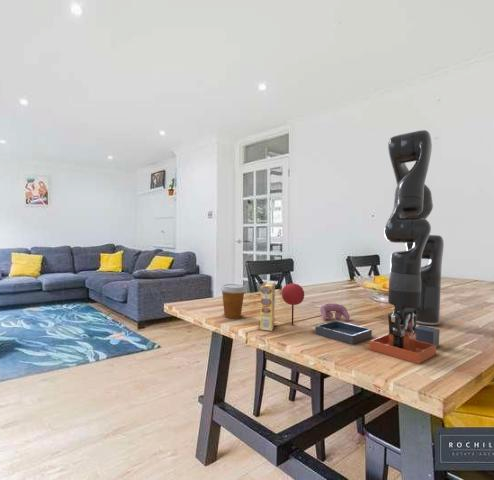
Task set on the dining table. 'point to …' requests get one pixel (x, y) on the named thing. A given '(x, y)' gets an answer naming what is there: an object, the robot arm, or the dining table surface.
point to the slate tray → (343, 332)
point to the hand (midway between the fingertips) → (402, 347)
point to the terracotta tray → (417, 356)
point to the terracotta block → (406, 341)
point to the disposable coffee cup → (233, 299)
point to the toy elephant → (337, 308)
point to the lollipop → (293, 295)
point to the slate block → (427, 335)
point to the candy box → (267, 306)
